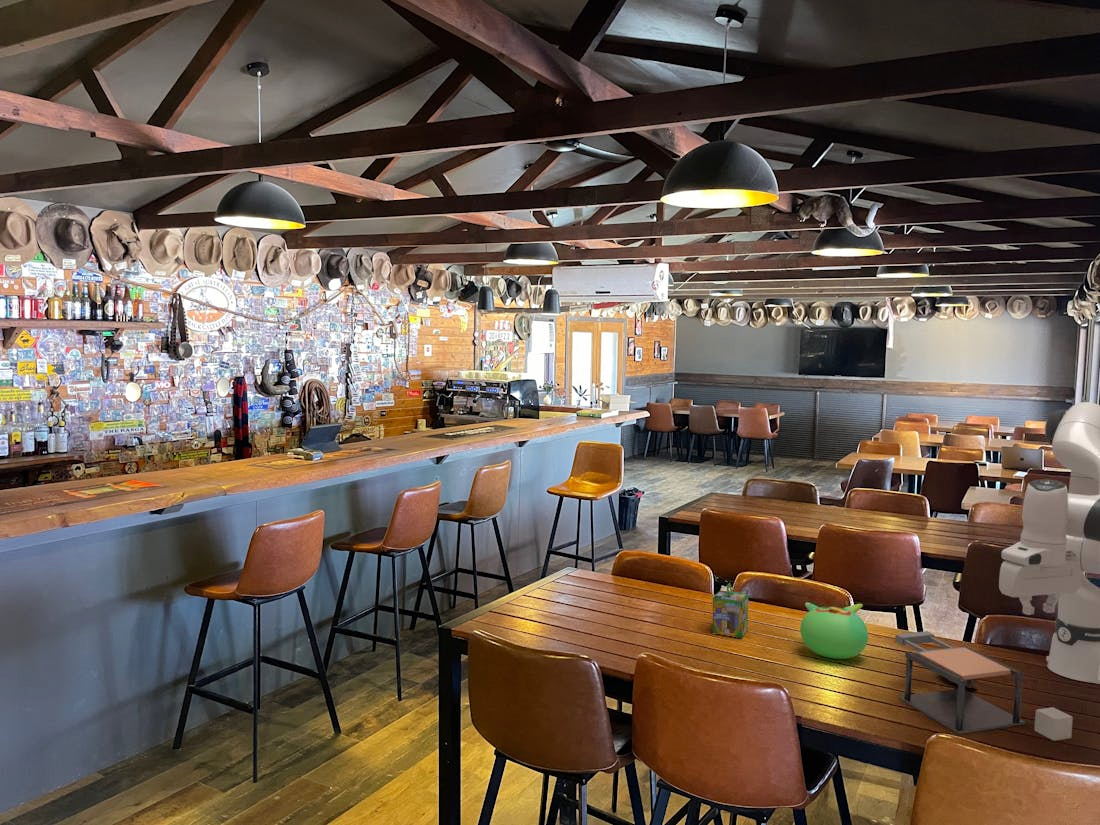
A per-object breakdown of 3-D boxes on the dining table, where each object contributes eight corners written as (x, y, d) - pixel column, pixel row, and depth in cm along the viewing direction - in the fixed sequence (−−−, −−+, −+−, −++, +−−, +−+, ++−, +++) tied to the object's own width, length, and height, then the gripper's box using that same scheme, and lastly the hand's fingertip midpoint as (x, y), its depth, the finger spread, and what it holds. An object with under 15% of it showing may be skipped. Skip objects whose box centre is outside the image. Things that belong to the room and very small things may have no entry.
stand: (899, 698, 197) (901, 651, 197) (961, 690, 203) (964, 644, 202) (958, 734, 179) (961, 682, 178) (1025, 724, 185) (1028, 674, 184)
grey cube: (1051, 728, 183) (1052, 707, 183) (1071, 738, 179) (1072, 716, 178) (1034, 730, 182) (1035, 709, 182) (1053, 741, 177) (1055, 719, 177)
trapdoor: (887, 642, 205) (888, 635, 204) (933, 637, 209) (934, 630, 209) (961, 682, 182) (961, 673, 181) (1011, 676, 186) (1011, 667, 186)
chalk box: (741, 639, 236) (743, 590, 235) (711, 634, 241) (712, 586, 239) (748, 630, 245) (750, 583, 244) (719, 625, 249) (720, 578, 248)
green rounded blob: (797, 661, 220) (800, 609, 219) (800, 641, 236) (802, 592, 235) (867, 671, 214) (870, 618, 213) (866, 649, 230) (868, 600, 229)
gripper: (1064, 547, 185) (1060, 605, 186) (995, 551, 179) (991, 611, 180) (1090, 553, 179) (1086, 613, 180) (1019, 558, 173) (1015, 621, 174)
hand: (1038, 613), depth 180 cm, fingers open, 5 cm apart
